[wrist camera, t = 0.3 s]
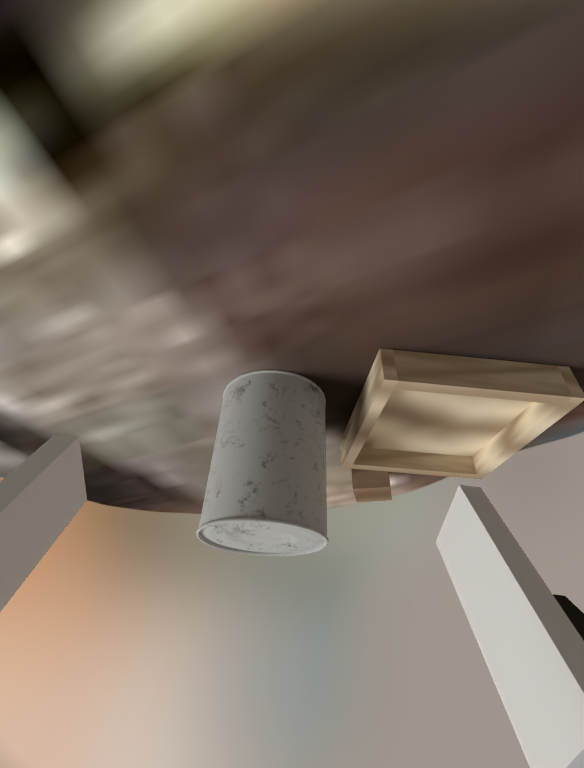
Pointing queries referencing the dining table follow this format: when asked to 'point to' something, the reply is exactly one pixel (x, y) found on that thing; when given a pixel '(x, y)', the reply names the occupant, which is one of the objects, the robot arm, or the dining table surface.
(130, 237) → the dining table surface
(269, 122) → the dining table surface
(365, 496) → the walnut block
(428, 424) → the oak tray
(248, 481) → the speckled tin can
